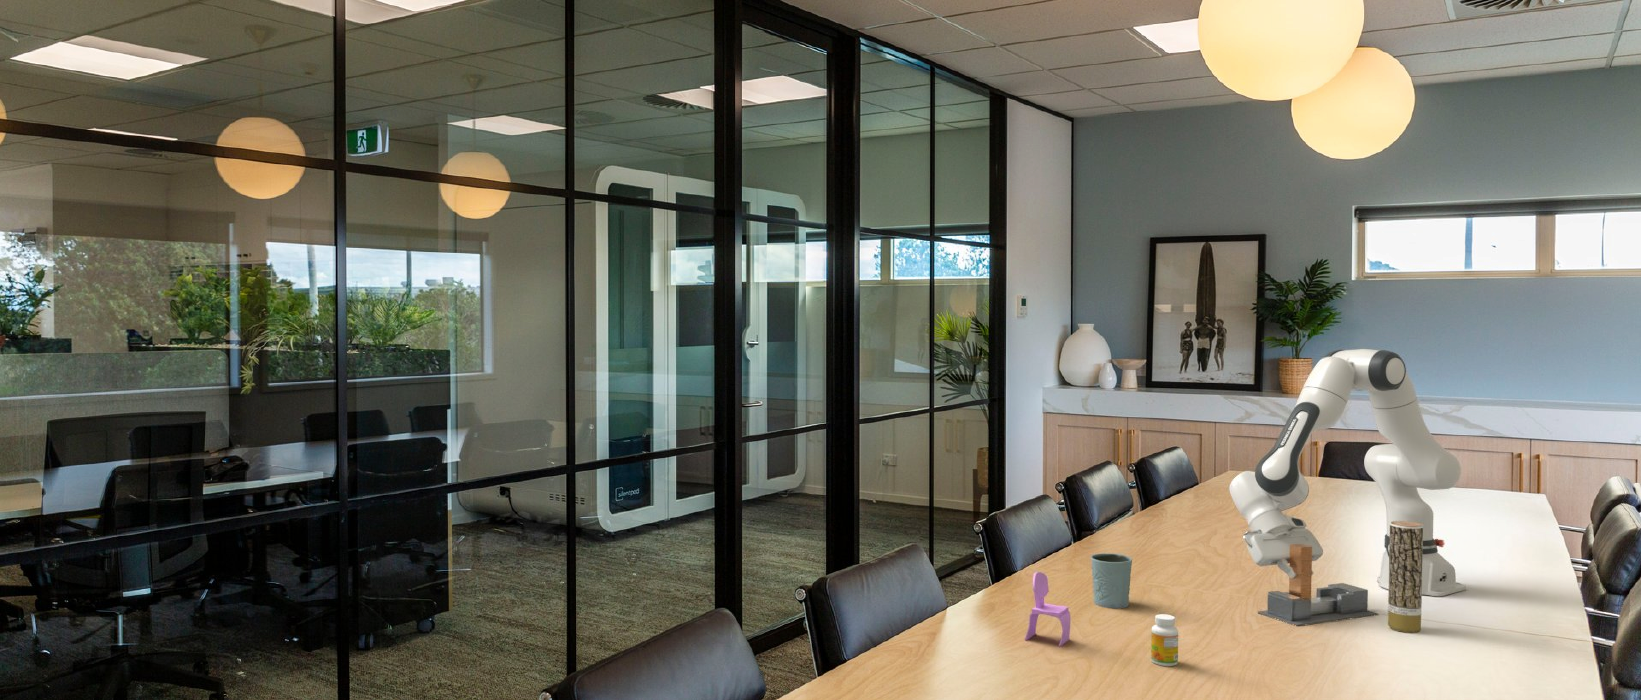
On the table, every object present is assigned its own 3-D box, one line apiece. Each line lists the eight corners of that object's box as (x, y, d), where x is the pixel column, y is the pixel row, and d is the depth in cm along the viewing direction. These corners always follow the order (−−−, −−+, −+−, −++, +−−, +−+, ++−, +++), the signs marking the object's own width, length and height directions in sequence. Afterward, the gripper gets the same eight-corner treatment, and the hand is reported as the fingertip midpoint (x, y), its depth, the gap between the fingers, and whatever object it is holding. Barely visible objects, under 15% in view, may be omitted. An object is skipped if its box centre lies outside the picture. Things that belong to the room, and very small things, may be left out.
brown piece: (1328, 607, 258) (1329, 540, 258) (1340, 610, 255) (1341, 543, 255) (1283, 613, 253) (1284, 545, 252) (1294, 616, 249) (1296, 548, 249)
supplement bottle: (1146, 658, 219) (1147, 613, 219) (1171, 658, 220) (1171, 612, 219) (1157, 666, 214) (1157, 620, 214) (1182, 666, 214) (1182, 620, 214)
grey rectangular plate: (1337, 602, 265) (1337, 601, 265) (1378, 614, 254) (1378, 613, 254) (1257, 613, 255) (1257, 611, 255) (1296, 626, 244) (1296, 624, 244)
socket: (1286, 611, 256) (1286, 589, 256) (1310, 619, 249) (1311, 596, 249) (1267, 613, 253) (1267, 591, 253) (1291, 621, 246) (1291, 599, 246)
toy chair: (1060, 648, 226) (1061, 580, 226) (1022, 641, 231) (1023, 575, 230) (1072, 638, 233) (1073, 573, 233) (1035, 632, 238) (1036, 568, 237)
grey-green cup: (1134, 601, 265) (1134, 555, 265) (1128, 611, 256) (1129, 563, 256) (1094, 597, 269) (1094, 551, 269) (1087, 606, 260) (1087, 559, 260)
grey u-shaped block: (1342, 603, 263) (1342, 582, 263) (1367, 611, 256) (1367, 589, 256) (1316, 607, 259) (1316, 586, 259) (1341, 614, 253) (1341, 593, 252)
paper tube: (1425, 634, 238) (1427, 527, 238) (1393, 632, 240) (1395, 525, 239) (1414, 626, 245) (1416, 521, 244) (1383, 624, 246) (1385, 520, 246)
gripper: (1247, 524, 254) (1277, 572, 246) (1308, 519, 262) (1340, 566, 253) (1233, 539, 259) (1262, 586, 250) (1294, 533, 266) (1325, 580, 257)
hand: (1302, 576), depth 252 cm, fingers closed on brown piece, 3 cm apart
